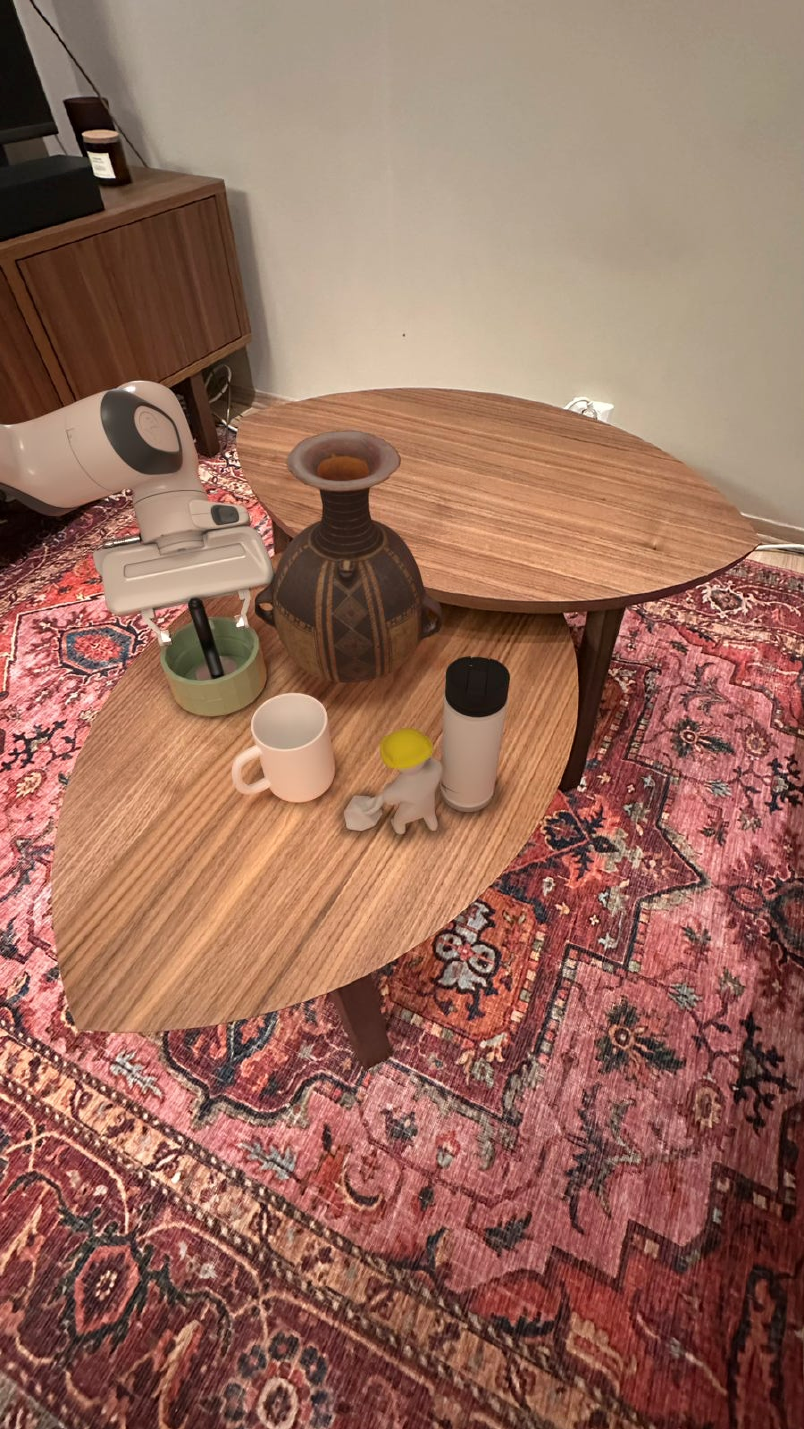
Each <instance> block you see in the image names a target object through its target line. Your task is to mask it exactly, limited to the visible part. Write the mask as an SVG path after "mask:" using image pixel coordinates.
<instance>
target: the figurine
mask: <svg viewBox="0 0 804 1429" xmlns="http://www.w3.org/2000/svg"><path fill="white" fill-rule="evenodd" d="M379 751H380V757H381V761H382V763H383V764H384V765H385V766H387V767H388V768H390V769H394V770H397V771H399V774H398V775H397V776H396V777H395V778H394V779H393V780H392V781H391V782H388V783H387V784H385V786H384V788H383V789H382V791H381V793H380V794H379V795H376V796H373V797H371V796H369V795H353V796H352V798H351V800H350V801H349V803H348V805H347V806H346V808H345V809H344V811H343V817H344V821H345V827H346V828H347V830H349V831H358V832H363V831H366V830H368V829H371V828H373V827H375V826H376V825H377V823H378V822H379V820H380V819H381V818H382V816H383V814H384V812H383V810H382V806H383V805H384V804H387V805H388V806H395V805H397V804H399V805H398V807H397V809H396V811H395V813H394V816H393V817H392V818H391V819H390V823H391V825H392V827H393V830H394V831H395V833H396V834H398V835H403V834H405V832H406V828H407V827H406V825H407V824H408V823H412V822H415V821H417V820H421V819H423V821H424V822H425V824H426V826H427V827H428V829H429V830H430V831H431V832H436V831H437V829H438V826H439V823H438V822H439V821H438V819H437V815H436V794H435V792H436V789H437V787H438V786H439V785H440V780H441V777H442V774H443V767H442V765H441V761H439V760H437V759H436V758H431V757H432V754H433V752H434V743H433V741H432V740H431V739H430V737H428V736H427V735H426V734H423V733H422V732H421V731H420V730H418V729H416V728H412V727H404V728H400V729H397V730H395V731H394V732H391V733H389V734H387V735H385V736H384V737H383V738H382V739H381V741H380V744H379Z"/></svg>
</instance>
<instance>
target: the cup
mask: <svg viewBox="0 0 804 1429" xmlns="http://www.w3.org/2000/svg"><path fill="white" fill-rule="evenodd" d="M250 731H251V734H252V738H253V742H254V745H253V746H250V747H248V748H247V749H245V750H243V751H241V752H240V753H239V754H238V755H237V756H235V759H234V760H233V762H232V765H231V781H232V784H233V786H234V788H235V789H236V791H238V792H239V793H240V794H243V795H249V796H250V795H256V794H259V793H262V792H263V791H266V790H267V789H269V791H271V793H272V794H273V795H275V796H276V797H277V798H279V799H280V800H283V801H286V802H289V803H307V802H310V801H313V800H315V799H317V798H319V797H320V796H322V795H323V794H324V793H326V791H328V789H329V788H330V786H331V785H332V783H333V781H334V779H335V774H336V773H335V772H336V763H335V758H334V757H335V756H334V750H333V744H332V738H331V731H330V724H329V717H328V713H327V710H326V708H325V706H324V705H323V703H321V701H320V700H318V699H317V698H315V697H313V696H311V695H308V694H306V693H300V692H286V693H282V694H278V695H275V696H272V697H271V698H269V699H267V700H266V701H264V702H263V703H261V704H260V705H259V706H258V708H256V710H255V711H254V713H253V715H252V718H251V721H250ZM257 758H258V759H259V763H260V766H261V769H262V773H263V776H264V777H262V778H261V779H259V780H257V781H255V782H253V783H251V784H246V783H245V781H244V779H243V776H242V775H243V774H242V772H243V767H244V765H246V764H247V763H248V762H250V761H253V760H255V759H257Z"/></svg>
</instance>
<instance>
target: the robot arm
mask: <svg viewBox="0 0 804 1429" xmlns="http://www.w3.org/2000/svg"><path fill="white" fill-rule="evenodd" d="M195 445H196V444H195V442H194V438H193V434H192V431H191V429H190V426H189V423H188V421H187V418H186V415H185V412H184V410H183V408H182V406H181V404H180V402H179V400H178V398H177V396H176V395H175V393H174V392H173V391H172V390H171V389H170V388H168V387H167V386H165V385H164V384H161V383H159V382H154V381H150V380H132V381H128V382H125V383H123V384H121V385H119V386H118V387H116V388H112V389H107V390H104V391H100V392H97V393H94V394H92V395H89V396H87V397H84V398H82V399H79V400H77V401H75V402H73V403H70V404H69V405H66V406H64V407H61V408H59V409H57V410H53V411H52V412H49V413H47V414H43V415H42V416H39V417H36V418H33V419H31V420H26V421H24V422H23V421H22V422H19V423H13V424H2V423H0V490H1V491H3V492H5V493H7V495H10V496H11V497H13V498H14V499H15V500H17V501H18V502H20V503H21V504H23V505H25V506H26V507H28V508H30V510H33V511H35V512H36V513H39V514H42V515H44V516H50V517H60V516H64V515H66V514H68V513H70V512H72V511H74V510H76V509H79V508H81V507H83V506H85V505H86V504H88V503H91V502H95V501H97V500H100V499H103V498H106V497H109V496H111V495H115V494H117V493H120V492H122V491H125V490H131V491H132V509H133V512H134V515H135V520H136V524H137V527H138V531H139V532H138V533H133V534H128V535H124V536H121V537H117V538H107V539H103V540H102V541H101V543H100V544H98V545H96V547H95V548H94V550H93V551H92V552H93V553H92V561H93V564H94V568H95V571H96V573H97V574H98V575H99V577H101V580H102V588H103V594H104V599H105V604H106V608H107V610H108V612H110V613H111V614H112V615H113V616H116V617H118V618H126V617H130V616H135V615H139V614H140V615H141V619H142V621H143V622H144V623H145V625H147V626H148V628H150V629H151V630H152V631H153V632H154V633H155V634H156V637H157V641H158V645H159V647H160V648H162V647H165V646H170V645H173V640H172V639H171V634H172V633H171V630H169V629H166V630H162V629H161V627H159V626H158V625H157V624H156V623H155V620H157V619H158V617H157V613H156V611H159V610H163V609H169V608H175V607H178V606H185V605H188V601H189V600H190V599H191V598H193V597H197V598H200V599H201V600H202V601H203V602H204V601H208V600H213V599H218V598H223V597H228V596H232V595H237V594H238V597H239V601H240V602H243V605H242V608H241V611H240V614H237V615H234V616H233V618H234V619H235V621H236V623H237V624H236V625H237V629H238V631H239V630H244V629H249V626H250V625H249V621H248V617H247V615H248V612H249V609H250V605H251V603H252V596H251V592H252V591H256V590H261V589H262V590H263V589H265V588H266V587H268V586H269V585H270V584H271V583H272V582H273V580H274V576H275V568H274V566H273V562H272V559H271V556H270V554H269V551H268V549H267V546H266V543H265V541H264V538H263V537H262V536H261V534H260V532H259V531H257V530H256V529H255V528H254V527H252V520H251V515H250V512H249V510H248V509H247V507H245V506H244V505H241V504H233V503H225V502H217V501H210V500H209V496H208V493H207V490H206V488H205V486H204V485H203V483H202V481H201V476H200V473H199V469H200V468H199V466H200V462H199V456H198V453H197V448H196V446H195Z"/></svg>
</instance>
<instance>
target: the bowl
mask: <svg viewBox="0 0 804 1429" xmlns="http://www.w3.org/2000/svg"><path fill="white" fill-rule="evenodd" d="M208 621H209V624H210V627H211V630H212V634H213V637H214V640H215V644H216V647H217V650H218V654H219V656H227V657H230V658H232V659H233V660H234V661H235V662H236V663H237V665H238V669H237V670H236V671H234V672H232V673H231V674H229V675H226V676H223V677H220V678H217V679H212V680H204V681H198V680H196V678H195V670H196V668H197V666H198V665H199V664H200V663H201V662H202V661H204V660H205V657H204V654H203V651H202V648H201V645H200V642H199V639H198V636H197V633H196V630H195V626H194V623H193V621H190V622H188V623H186V624H184V625H183V626H181V627H179V628H177V629H176V630H174V632H172V633H171V639H172V640H173V645H170V646H165V647H160V648H161V649H160V655H159V663H160V665H161V668H162V670H163V673H164V676H165V678H166V681H167V683H168V686H169V688H170V690H171V693H172V695H173V698H174V701H175V702H176V704H178V705H179V706H180V707H181V708H182V709H183V710H185V711H187V712H189V713H191V714H194V715H197V716H203V717H204V716H205V717H218V716H225V715H230V714H232V713H234V712H237V711H240V710H243V709H244V708H245V707H247V706H248V705H250V704H251V703H253V702H254V701H255V700H256V699H257V698H258V696H259V695H260V694H261V693H262V692H263V691H264V688H265V685H266V682H267V680H268V679H267V678H268V677H267V676H268V675H267V666H266V663H265V659H264V654H263V651H262V647H261V643H260V642H261V641H260V638H259V636H258V634H257V632H256V630H255V629H254V628H253V627H252V626H251V625H249V629H244V630H239V631H238V629H237V625H236V624H237V623H236V621H235V617H231V616H230V617H229V616H209V617H208Z"/></svg>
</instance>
